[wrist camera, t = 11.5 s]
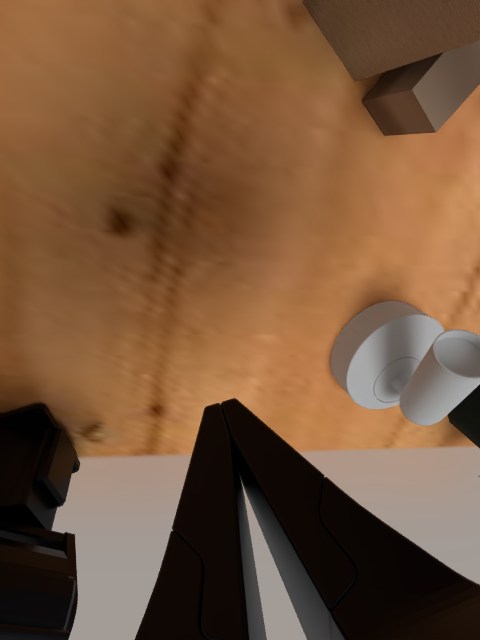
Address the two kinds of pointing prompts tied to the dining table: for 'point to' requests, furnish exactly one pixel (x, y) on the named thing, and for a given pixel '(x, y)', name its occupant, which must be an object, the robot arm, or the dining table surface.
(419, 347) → the wall hook
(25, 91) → the dining table surface
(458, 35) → the grey square pillar
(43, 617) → the robot arm
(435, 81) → the bench
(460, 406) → the wine bottle
